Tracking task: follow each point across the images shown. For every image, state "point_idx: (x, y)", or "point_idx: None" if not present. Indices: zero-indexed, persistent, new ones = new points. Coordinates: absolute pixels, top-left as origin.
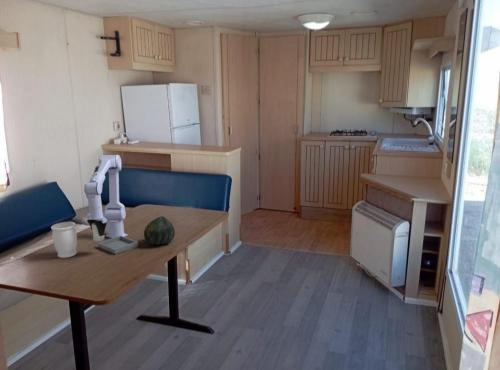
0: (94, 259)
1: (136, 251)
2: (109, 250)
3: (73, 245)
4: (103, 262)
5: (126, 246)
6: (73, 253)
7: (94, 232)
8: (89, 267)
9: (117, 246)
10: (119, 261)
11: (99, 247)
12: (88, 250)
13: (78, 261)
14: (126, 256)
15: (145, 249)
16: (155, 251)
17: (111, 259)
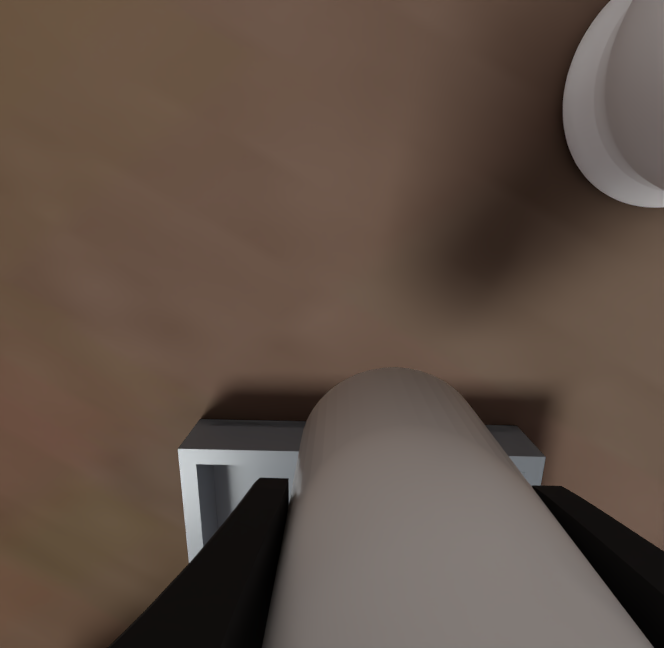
0: (252, 225)
1: (121, 562)
2: (297, 431)
3: (658, 79)
4: (99, 240)
5: None
6: (584, 122)
7: (382, 480)
8: (77, 61)
9: None
10: (7, 352)
11: (499, 428)
12: (547, 322)
13: (349, 71)
14: (77, 454)
15: (105, 622)
16: (3, 638)
17: (113, 333)
